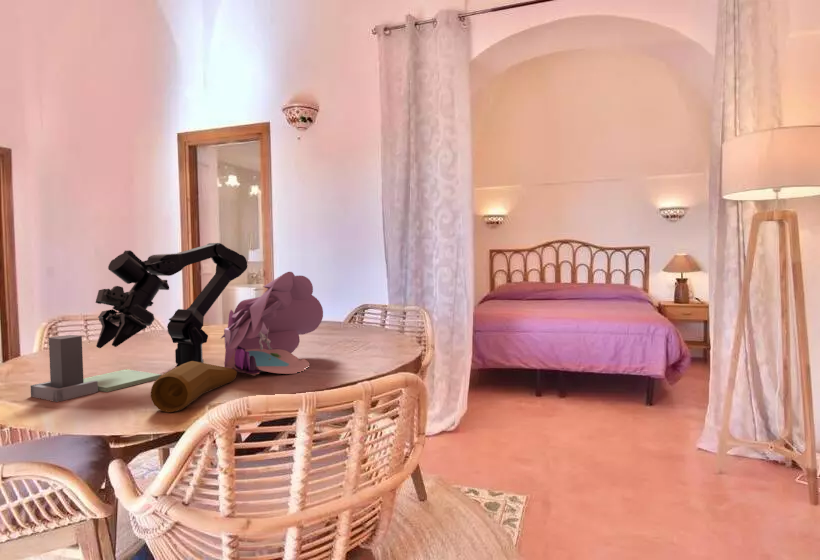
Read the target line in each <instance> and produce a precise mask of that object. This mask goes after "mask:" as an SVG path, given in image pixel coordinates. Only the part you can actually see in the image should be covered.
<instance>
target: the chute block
mask: <svg viewBox="0 0 820 560" xmlns="http://www.w3.org/2000/svg"><path fill="white" fill-rule="evenodd" d="M48 350H49V351H48V352H49V354H48V355H49V356H48V357H49V377H50V380H49V381H51V387H54V388H64V387H68V386H73V385H77V384H81V383H84V380H83V379H84V361H83V355H84V354H83V336H82V335H75V334H68V335H60V336H52V337H48Z"/></svg>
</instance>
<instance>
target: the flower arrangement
mask: <svg viewBox="0 0 820 560" xmlns="http://www.w3.org/2000/svg"><path fill="white" fill-rule="evenodd" d="M313 287H314V286H313V283H312V282H311V280H310V279H309V278H308V277H307V276H306V275H295V274H294V272H293V271H287V272H285V273H283V274H280V276H278V277H277V278H275V279H272V281H270V282H268V283H266V284H264V286H262V288H266V291H265V292H263V293H262V295H260V296H258V297H253V298H248V299H243V300H241V301H239V303H238V304H237V306H236V307H235V310H234V311H233V310H232V309H230V311H229V313H228V320H227V321H228V323H227V327H225V328H224V329H223V335H221V338H220V339H224V349H225V351H224V352H225V354H224V361H223V364H224V366H223V367H227V368H232V369H234V370H235V371H236V372H237V373H241V374H248V375H250V376H251V375H252V376H255V377H256V375H260V373H261V372H268V373H272V374H280V375H281V374H283V375H284V374H286V375H287V374H289V375H291V374H292V375H293V374H298V373H297V372H300V373H302V372H301V371H303V372H305V371H306V370H307V369H304V368H306V367H308V366H309V365H310V363H309V361H308V360H307V359H306V358H303V359H299V357H297V356H296V355H294V354H293V353H294V352H295V351H296V350H297V348H298V347H299V344H300V336H302V335H306V334H309V333H312V332H314V331H315V330H317V329H318V327H320V325H321V324H322V321H323V319H324V308H323V305H322V304H321V302H320V300H319V299H318V298H317V297H316V296H314V295H313V292H314V288H313ZM309 367H310V366H309ZM304 370H305V371H304Z"/></svg>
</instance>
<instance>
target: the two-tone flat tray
mask: <svg viewBox="0 0 820 560" xmlns="http://www.w3.org/2000/svg"><path fill="white" fill-rule="evenodd" d="M161 375H162V374H160V373H155V372H148V371H140V370H135V369H134V370H133V369H125V368H124V369H121V370H116V371H112V372H107V373H102V374H98V375H93V376H90V377H85V378H84V377H83V380H84V383H81V384H77V385H73V386H68V387H64V388H54V387H51V380H49V381H46V382H41V383H36V384H31V385H30V397H31V398H34V399H35V398H36V399H40V398H41V399H40V400H45V399H46V400H45V401H49V400H51V401H50V402H54V401H55V402H54V403H58V401H59V402H62V401H67V400H71V399H74V398H79V397H83V396H88V395H91V394H95V393H98V392H104V393H106V392H107V393H109V392H112V391H115V390H121V389H125V388H129V387H131V386H132V387H133V386H136V385H140V384H144V383H148V382H153V381H156V380H157V379H158V378H159V377H160V376H161Z"/></svg>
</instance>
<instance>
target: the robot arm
mask: <svg viewBox="0 0 820 560" xmlns="http://www.w3.org/2000/svg"><path fill="white" fill-rule="evenodd" d="M209 259H211V260H212V262H213V263H214V264H215V265H216V266H215V274H214V275H213V276H212V277H211V279H210V280H209V281H208V283H207V284H206V285H205V286H204V287H203V289H202V290H201V291H200V293H199V294H198V295H197V297H196V298H195V299H194V300H193V301H192V303H191V304H190V306H189V307H188V308H186V309H183V308H178V309H177V310H175V312H174V313H173V315H172V316H171V317H170V318H168V321H169V322H168V323H167V325H166V326H167V327H166V328H167V333H168V336H170V339H171V341H172V344H176V346H177V347H176V349H175V350H174V353H175V354H174V356H175V357H174V358H175V365H176V367H178V366H180V365H182V364H184V363H187V362H190V361H196V362H201V363H204V358H203V345H204V344H206V343H207V342H208V338H209V335H208V334H207V333H206V332H205V331H204V330H203V329H202V328H203V327H204V321H205V320H204V319H205V318H204V317H205V316H206V314H207V313H208V312H209V310H210V309H211V308H212V306H213V305H214V303H215V302H216V301H217V300H218V299H219V296H220V295H221V294H222V293H223V292H224V290H225V289H226V288H227V286H228V285H229V283H231V282H232V281H233V280H235V279H237V278H238V277H241V275H243V274H244V272H246V270H247V269H248V261H247V258H246V257H245V256H244V255H243V254H240V253H238V252H237V251H235V250H233V249H232V248H231V249H230V248H228V247H227V246H225V245H224V244H223V243H221V242H210V243H207V244H205V245H204V244H203V245H201V246H198V247H195V248H190V249H187V250H183V251H179V252H175V253H161V254H152V255H149V256H148V257H147V259H146V260H141V258H140V257H138V256H137V255H136V254H135V253H134V252H133V251H132V250H129V249H127V250H124V251H123V253H120V254H119V255H118V256H116V257H115V258H114V259H112V260H111V261H110V262H109V264H108V266H107V269H108V270H109V271H110V272H111V273H112V274H113V275H115V277H118V278H119V279H120V280H122V282H124V283H125V284H127V285H128V284H133V285H132V287H131V288H130V290H129V291H126V292H125V290H124V288H123V286H120V285H115V286H113V287H112V288H111V289H110V288H102V289H98V291H97V296H96V299H95V303H96V304H98V305H101V304H103V305H107V306H113V307H112V309H107V310H103V311H101V312H100V313H99V315H98V317H97V318H98V321H99V322H100V324H101V330H100V334H99V336H98V339H97V342H96V345H95V346H96V348H99V349H102V348H103V347H104V346H106V345H107V344H108V343H110V342H111V341H112V340H113V341H112V343H111V346H113V347H114V348H117V347H119V346H120V345H122V344H123V343H124V342H126V341H127V340H129V339H130V338H132V337H134V336H135V335H137V334H138V333H140V332H142V331H143V330H144V329H146V328H147V327H149V326H151V325H152V323H153V322H154V320H155V316H154V313H153V312H151V311H149V310H147V309H148V308H149V307H152V306H153V304H154V302H153V300H154V299H155V297H156V296H157V294H158V293H159V291H160V290H162V291H168V290H170V286H169V284H168V280H167V279H162V278H161V277H170V276H173V275H174V276H175V274H177V273H179V272H181V271H182V270H183V269H184V268H185V267H187V266H189V265H193V264H197V263H200V262H203V261H207V260H209ZM160 276H161V277H160Z"/></svg>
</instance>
